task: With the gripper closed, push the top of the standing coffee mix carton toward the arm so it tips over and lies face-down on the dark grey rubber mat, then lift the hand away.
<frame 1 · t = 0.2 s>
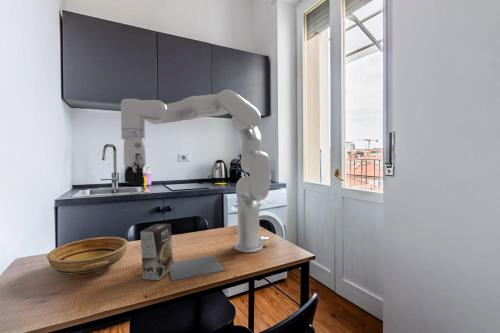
hand: (133, 183, 89), 31 cm above the table, tool pointing down, fingers open, 9 cm apart
brown oval basket: (91, 269, 89), on the table
grey mat: (195, 267, 90), on the table
coffee box: (159, 273, 85), on the table, touching grey mat
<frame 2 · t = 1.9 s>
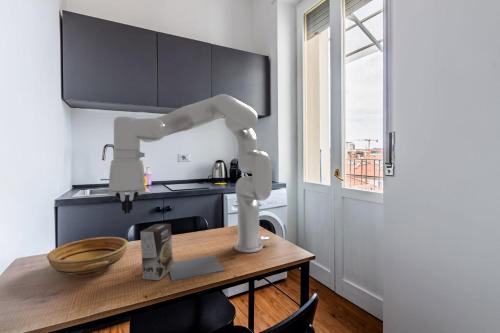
hand: (127, 212, 80), 22 cm above the table, tool pointing down, fingers closed
nothing on the table moved.
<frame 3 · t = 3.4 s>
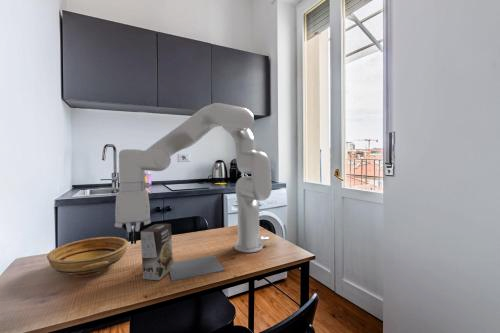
hand: (133, 242, 82), 12 cm above the table, tool pointing down, fingers closed
coffee box: (159, 273, 85), on the table, touching grey mat, gripper
everything else where it was.
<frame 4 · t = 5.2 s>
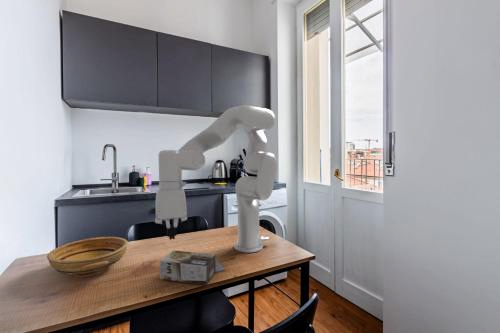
hand: (171, 238, 87), 12 cm above the table, tool pointing down, fingers closed
coffee box: (165, 263, 84), point 4 cm above the table, touching grey mat
everything else where it was.
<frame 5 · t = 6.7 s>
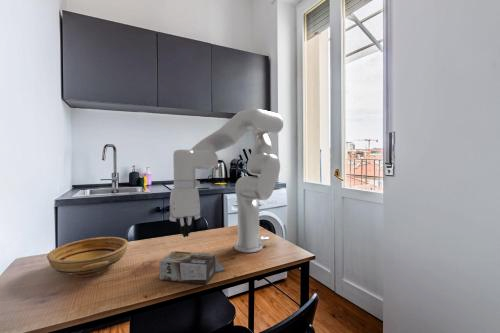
hand: (185, 235, 88), 12 cm above the table, tool pointing down, fingers closed
nothing on the table moved.
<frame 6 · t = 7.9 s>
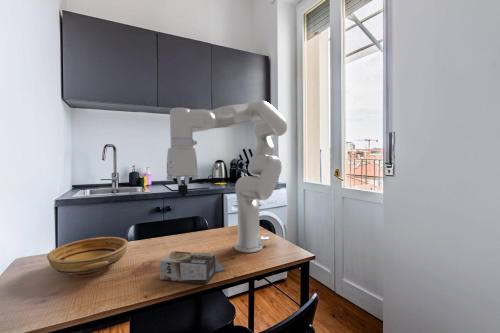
hand: (182, 196, 88), 26 cm above the table, tool pointing down, fingers closed
nothing on the table moved.
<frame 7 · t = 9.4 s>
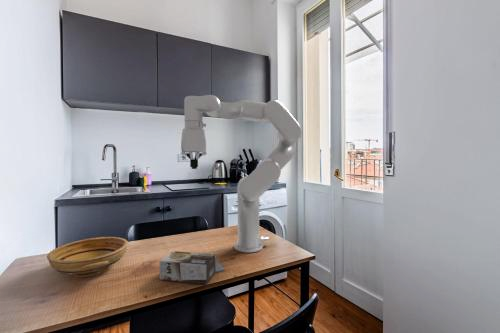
hand: (194, 168, 107), 35 cm above the table, tool pointing down, fingers closed
nothing on the table moved.
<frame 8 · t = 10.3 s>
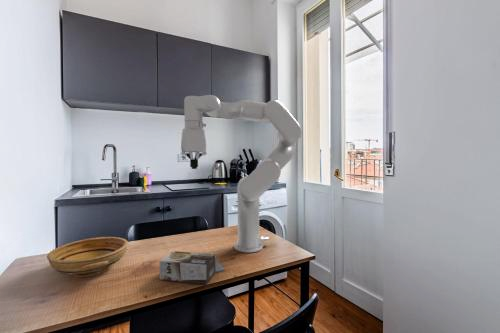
hand: (194, 168, 107), 35 cm above the table, tool pointing down, fingers closed
nothing on the table moved.
at the end: coffee box tilted 90°; coffee box touching grey mat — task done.
